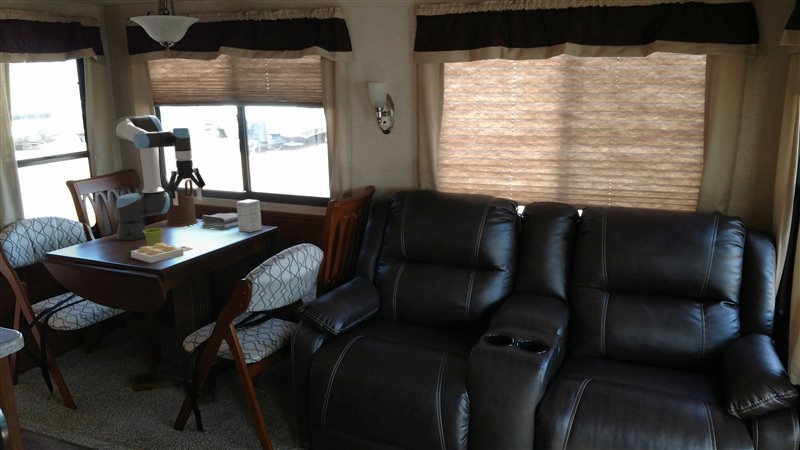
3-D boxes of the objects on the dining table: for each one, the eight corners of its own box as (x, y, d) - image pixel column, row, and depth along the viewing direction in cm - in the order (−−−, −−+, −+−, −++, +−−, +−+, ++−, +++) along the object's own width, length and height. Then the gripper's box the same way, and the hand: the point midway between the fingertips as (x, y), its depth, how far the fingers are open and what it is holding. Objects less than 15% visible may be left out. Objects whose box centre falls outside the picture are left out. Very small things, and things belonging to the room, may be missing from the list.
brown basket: (159, 227, 352) (154, 184, 346) (180, 218, 375) (176, 178, 369) (188, 227, 349) (184, 185, 343) (208, 219, 372) (204, 178, 366)
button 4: (161, 252, 289) (160, 246, 289) (170, 250, 293) (169, 244, 292) (166, 254, 286) (166, 248, 286) (176, 252, 290) (175, 246, 289)
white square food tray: (131, 257, 288) (130, 251, 287) (164, 249, 301) (163, 243, 300) (150, 263, 278) (150, 256, 277) (183, 254, 291) (182, 248, 290)
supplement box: (262, 229, 342) (260, 200, 338) (250, 232, 334) (248, 203, 330) (250, 227, 347) (248, 198, 343) (238, 230, 339) (236, 201, 335)
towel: (225, 230, 341) (224, 217, 339) (200, 228, 348) (198, 215, 346) (242, 225, 355) (241, 212, 353) (217, 222, 362) (216, 210, 360)
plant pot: (152, 249, 301) (150, 233, 299) (140, 247, 306) (138, 231, 304) (168, 245, 308) (166, 229, 307) (156, 243, 313) (154, 227, 311)
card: (172, 249, 300) (172, 248, 300) (184, 246, 305) (184, 245, 305) (180, 252, 296) (180, 250, 296) (192, 249, 301) (192, 247, 301)
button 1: (138, 253, 288) (137, 247, 287) (147, 251, 292) (147, 245, 291) (143, 255, 285) (143, 249, 284) (153, 253, 289) (152, 247, 288)
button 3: (152, 250, 294) (152, 244, 293) (162, 248, 298) (161, 242, 297) (158, 252, 291) (157, 246, 290) (167, 249, 295) (167, 243, 294)
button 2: (146, 256, 283) (145, 250, 283) (156, 254, 287) (155, 247, 287) (152, 258, 280) (151, 251, 280) (162, 255, 284) (161, 249, 284)
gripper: (165, 162, 279) (170, 207, 284) (210, 157, 299) (214, 199, 303) (156, 161, 283) (160, 206, 288) (201, 156, 303) (204, 198, 308)
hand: (188, 202), depth 296 cm, fingers open, 13 cm apart
